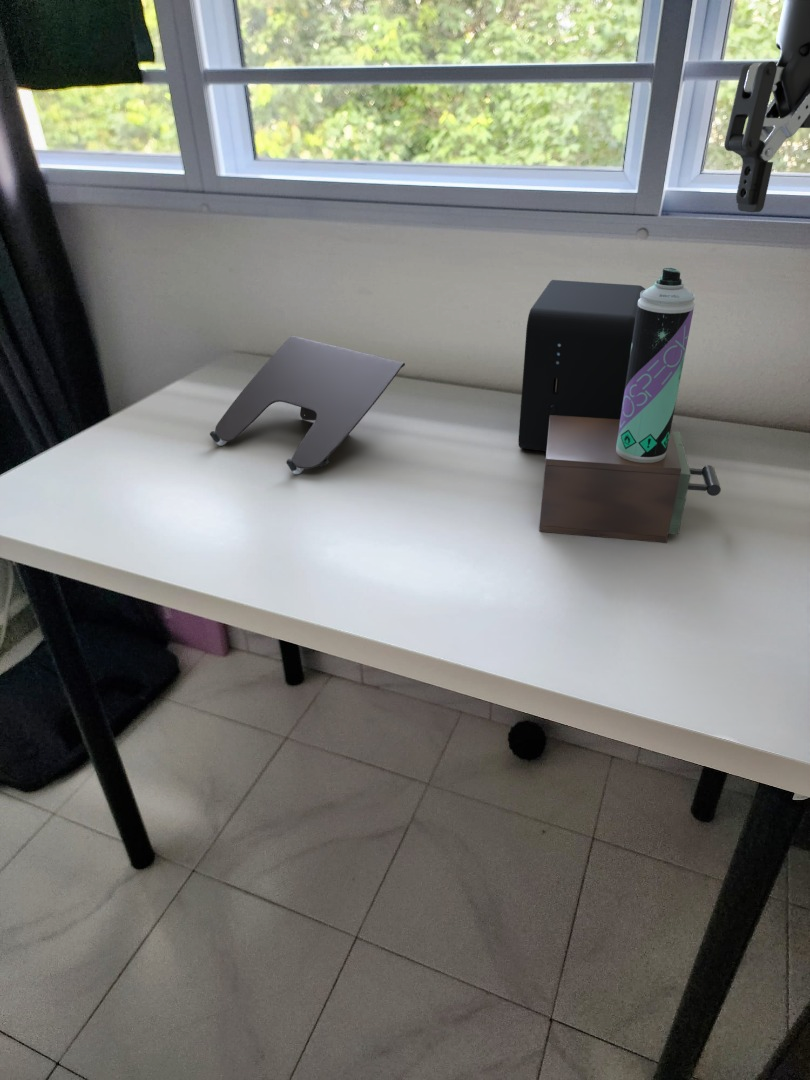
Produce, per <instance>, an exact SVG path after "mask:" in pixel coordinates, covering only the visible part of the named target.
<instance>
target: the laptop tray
mask: <svg viewBox="0 0 810 1080" xmlns="http://www.w3.org/2000/svg"><path fill="white" fill-rule="evenodd" d="M405 365H406V362H402V361H398V360H394V359H390V358H386V357H382V356H378V355H374V354H370V353H365V352H361V351H358V350H353V349H349V348H345V347H341V346H337V345H333V344H328V343H324V342H320V341H316V340H311V339H308V338H304V337H299V336H296V335H290V336H288V338H287V339H286V341H284V342H283V344H282V345H281V346H280V347H279V348H278V349H277V350H276V351H275V352H274V353H273V354H272V356H271V357H270V358H269V359H268V360H267V361H266V362H265V364H264V365H263V366H262V367H261V368H260V369H259V371H258V372H257V373H256V374H255V375H254V376H253V378H252V379H250V381H249V382H248V383H247V385H246V386H245V387H244V388H243V389H242V390H241V392H240V393H239V395H237V397H236V398H235V400H233V402H232V403H231V405H230V406H229V407H228V409H227V410H226V411H225V413H223V415H222V417H221V418H220V419H219V421H218V422H217V424H216V425H215V428H214V430H212V431H210V432H209V436H210V437H211V439H212V440H213V441H214V443H216V445H217V446H220V447H221V446H225V445H226V444H227V443H229V442H232V441H234V440H235V439H236V438H238V437H239V436H240V435H241V434H242V433H243V432H244V431H245V430H246V429H247V428H249V427H250V425H252V423H254V422H255V421H256V420H257V419H258V417H260V416H261V415H262V414H263V413H264V411H266V410H267V409H268V408H269V407H270V406H272V405H273V404H275V403H279V402H280V403H286V404H289V405H293V406H295V407H299V408H300V412H299V415H300V418H301V419H302V420H304V421H314V422H313V423H312V425H311V426H310V427H309V428H308V431H307V432H306V434H305V435H304V437H303V438H302V439H301V441H300V442H299V444H298V446H297V448H296V450H295V451H294V453H293V454H292V456H291V458H288V459H287V460H286V461H285V462H286V465H287V466H288V468H289V469H290V471H291V472H292V473H293V474H295V475H299V474H301V473H302V472H303V471H304V470H305V469H306V470H307V469H315V468H317V467H318V468H322V467H323V466H325V465H328V464H329V462H330V461H329V458H330V455H332V453H334V452H335V450H336V449H337V448H338V447H339V446H340V445H341V444H342V442H343V441H344V440H345V439H346V438H347V437H348V436H349V435H350V433H352V431H353V430H354V429H355V428H356V427H357V425H358V424H360V422H361V420H363V418H364V417H365V416H366V414H367V413H368V412H369V411H370V410H371V408H372V407H373V406H374V405H375V404H376V402H377V401H378V400H379V399H380V397H381V396H382V394H384V392H385V391H386V390H387V388H388V387H389V385H390V384H391V383H392V382H393V380H394V379H395V377H396V376H397V375H398V373H399V372H400V370H402V368H404V367H405Z"/></svg>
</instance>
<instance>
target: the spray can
mask: <svg viewBox="0 0 810 1080" xmlns="http://www.w3.org/2000/svg"><path fill="white" fill-rule="evenodd" d="M645 289H646V290H643V291H641V293H640V297H641V298H640V299H639V300H638V305H637V312H636V318H635V325H634V332H633V338H632V345H631V352H630V358H629V365H628V372H627V378H626V385H625V392H624V398H623V405H622V412H621V418H620V425H619V432H618V439H617V445H616V452H617V454H618V455H619V456H621V457H622V458H624V459H627V460H630V461H633V462H639V463H653V462H658V461H661V460H662V459H664V458H665V455H666V452H667V447H668V441H669V436H670V431H671V428H672V426H673V425H672V424H673V419H674V415H675V409H676V404H677V398H678V393H679V388H680V384H681V377H682V373H683V368H684V367H683V366H684V361H685V357H686V351H687V346H688V341H689V335H690V331H691V325H692V319H693V314H694V309H695V302H694V300H695V298H696V296H695V294H694V293H693V292H691V291H689V290H688V289H687V288H686V287H685V283H684V282H683V281H682V278H681V272H680V271H679V270H678V269H676V268H672V267H664V268H663V269H662V271H661V277H659V278H658V279H657V280H655V281H654V284H653V285H652V286H650V287H648V288H645Z"/></svg>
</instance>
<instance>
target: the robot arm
mask: <svg viewBox="0 0 810 1080" xmlns="http://www.w3.org/2000/svg"><path fill="white" fill-rule="evenodd" d="M775 46H776V48H777V49H778V50H779V51H780V53H779V54H780V55H779V57H778V60H777V62H775V61H761V62H749V63H745V64H744V65H743V66H742V68H741V69H740V74H739V78H738V82H737V86H736V91H735V96H734V99H733V103H732V109H731V113H730V117H729V121H728V126H727V129H726V135H725V138H724V149H725V150H726V151H728V152H733V153H735V154H737V155H739V156H740V158H741V160H742V165H741V170H740V176H739V181H738V185H737V190H736V195H735V200H736V204H737V209H738V211H740V212H746V213H761V212H762V211H763V209H764V207H765V202H766V198H767V193H768V189H769V184H770V181H771V180H770V179H771V175H772V170H773V166H774V161H770V160H772V159H773V158H774V156H775V155H776V153H777V152H778V151H779V150H780V148H781V146H782V145H783V144H784V142H785V141H786V140H787V139H788V138H791V137H793V136H794V135H795V134H796V133H797V132H798V130H800V129H810V0H783V3H782V9H781V12H780V18H779V23H778V28H777V33H776V38H775ZM772 94H773V98H772V99H771V96H772ZM770 99H771V101H770ZM746 121H747V122H746ZM745 125H746V126H745Z"/></svg>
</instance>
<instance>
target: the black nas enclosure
mask: <svg viewBox="0 0 810 1080" xmlns="http://www.w3.org/2000/svg"><path fill="white" fill-rule="evenodd" d="M646 289H647V288H645V287H643V286H642V285H641V284H640V285H639V284H625V283H624V284H623V283H610V282H609V283H608V282H593V281H592V282H591V281H577V280H564V279H563V280H561V279H550V282H549V283H548V284H547V285H546V287H545V288H544V289H543V291H542V292H541V294H539V296H538V298H537V300H536V301H535V302H534V303H533V305H532V306H531V308H530V309H529V313H528V317H527V322H526V328H525V329H526V330H525V331H526V332H525V344H524V357H523V371H522V373H523V374H522V385H521V400H520V413H519V425H518V426H519V427H518V428H519V429H518V441H517V443H518V447H519V448H520V449H525V450H533V451H540V452H546V450H547V440H548V429H549V418H550V415H557V416H573V417H589V418H606V419H620V418H621V412H622V405H623V398H624V392H625V385H626V378H627V372H628V365H629V358H630V352H631V345H632V338H633V332H634V325H635V318H636V312H637V305H638V300H639V299H640V298H641V297H640V293H641V291H643V290H646Z"/></svg>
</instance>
